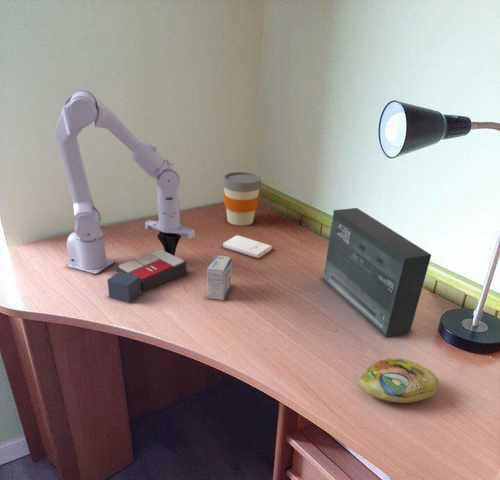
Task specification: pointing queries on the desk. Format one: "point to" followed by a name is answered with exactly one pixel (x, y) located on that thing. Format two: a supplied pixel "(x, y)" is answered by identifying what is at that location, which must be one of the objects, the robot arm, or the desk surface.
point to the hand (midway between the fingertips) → (170, 256)
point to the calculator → (154, 268)
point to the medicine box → (219, 277)
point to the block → (124, 287)
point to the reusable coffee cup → (241, 197)
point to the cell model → (399, 381)
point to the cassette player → (375, 270)
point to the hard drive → (247, 246)
